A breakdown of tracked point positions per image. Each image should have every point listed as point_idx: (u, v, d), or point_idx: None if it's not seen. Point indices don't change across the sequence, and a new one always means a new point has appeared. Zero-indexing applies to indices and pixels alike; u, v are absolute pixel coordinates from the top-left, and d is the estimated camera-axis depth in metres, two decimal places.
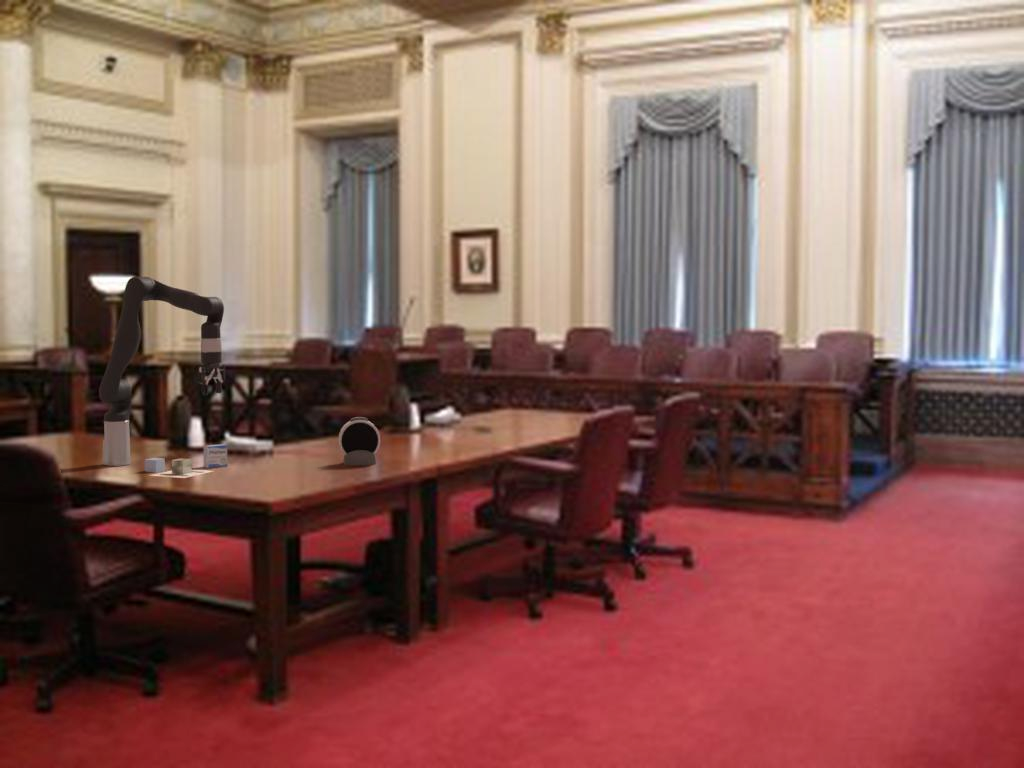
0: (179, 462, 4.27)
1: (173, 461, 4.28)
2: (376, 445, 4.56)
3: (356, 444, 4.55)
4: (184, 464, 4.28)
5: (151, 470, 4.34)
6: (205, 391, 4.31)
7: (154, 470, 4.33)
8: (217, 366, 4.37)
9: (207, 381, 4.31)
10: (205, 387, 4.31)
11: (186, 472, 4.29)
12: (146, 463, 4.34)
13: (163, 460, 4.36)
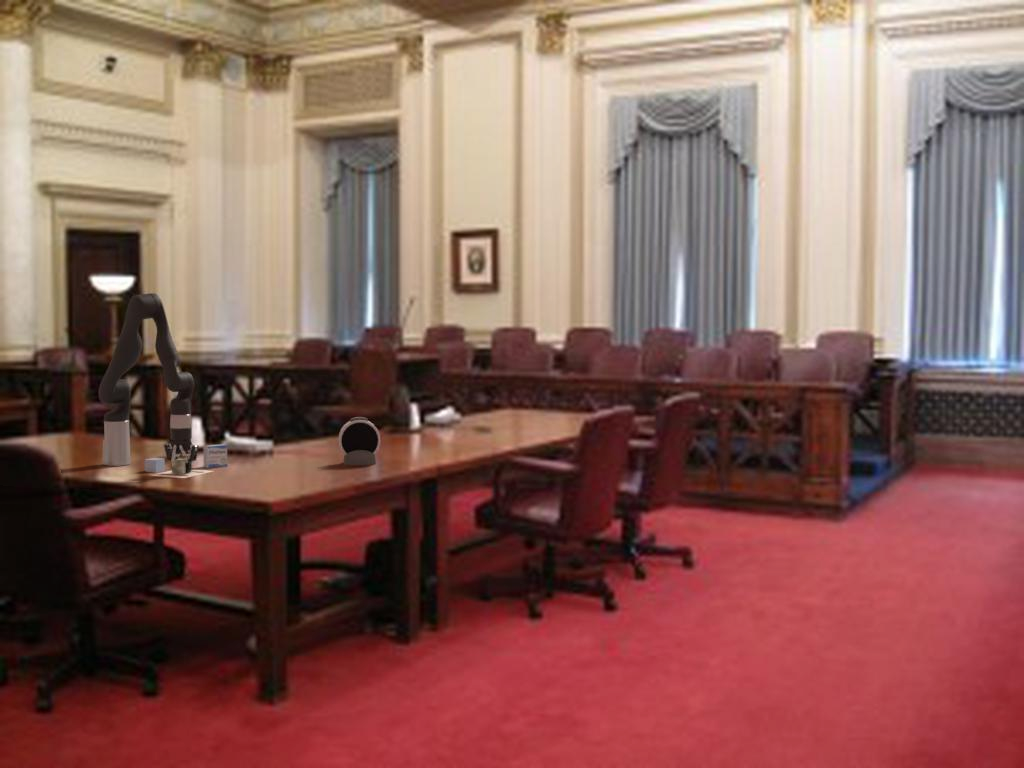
0: (179, 462, 4.27)
1: (173, 461, 4.28)
2: (376, 445, 4.56)
3: (356, 444, 4.55)
4: (184, 464, 4.28)
5: (151, 470, 4.34)
6: None
7: (154, 470, 4.33)
8: None
9: None
10: None
11: None
12: (146, 463, 4.34)
13: (163, 460, 4.36)
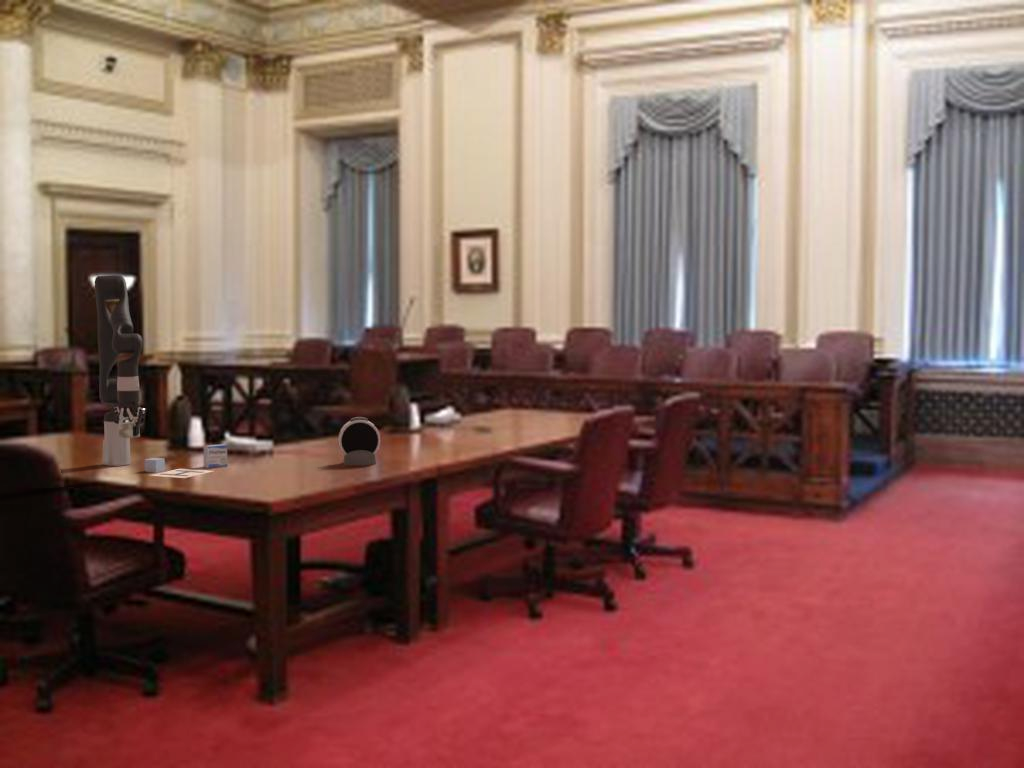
0: (127, 425, 4.18)
1: (120, 424, 4.19)
2: (376, 445, 4.56)
3: (356, 444, 4.55)
4: (131, 427, 4.18)
5: (151, 470, 4.34)
6: None
7: (154, 470, 4.33)
8: None
9: None
10: None
11: (133, 436, 4.19)
12: (146, 463, 4.34)
13: (163, 460, 4.36)
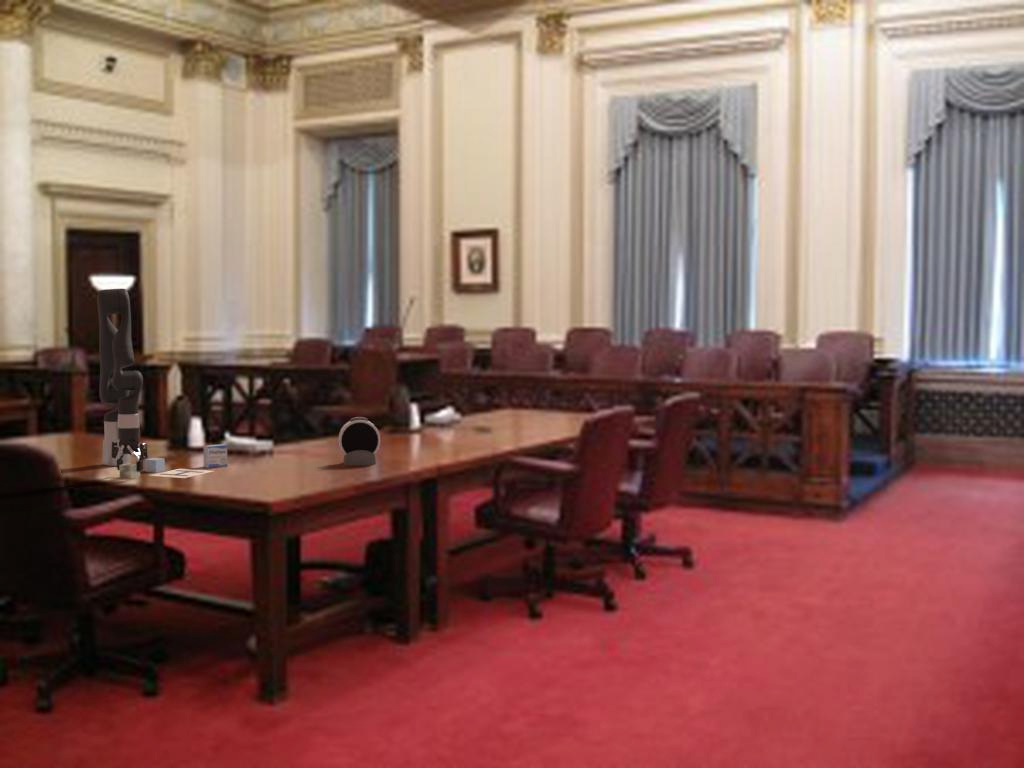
0: (127, 466, 4.19)
1: (121, 466, 4.20)
2: (376, 445, 4.56)
3: (356, 444, 4.55)
4: (132, 469, 4.19)
5: (151, 470, 4.34)
6: None
7: (154, 470, 4.33)
8: None
9: None
10: None
11: (134, 477, 4.20)
12: (146, 463, 4.34)
13: (163, 460, 4.36)
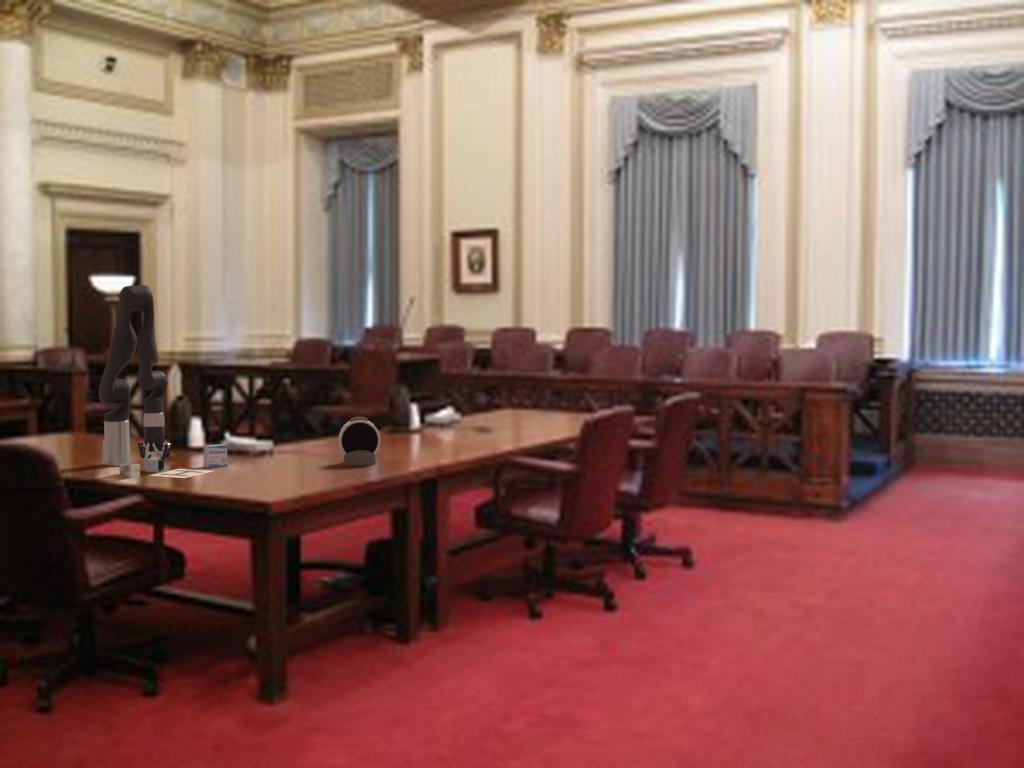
0: (127, 466, 4.19)
1: (121, 466, 4.20)
2: (376, 445, 4.56)
3: (356, 444, 4.55)
4: (132, 469, 4.19)
5: (151, 470, 4.34)
6: None
7: (154, 470, 4.33)
8: None
9: None
10: None
11: (134, 477, 4.20)
12: (146, 463, 4.34)
13: None
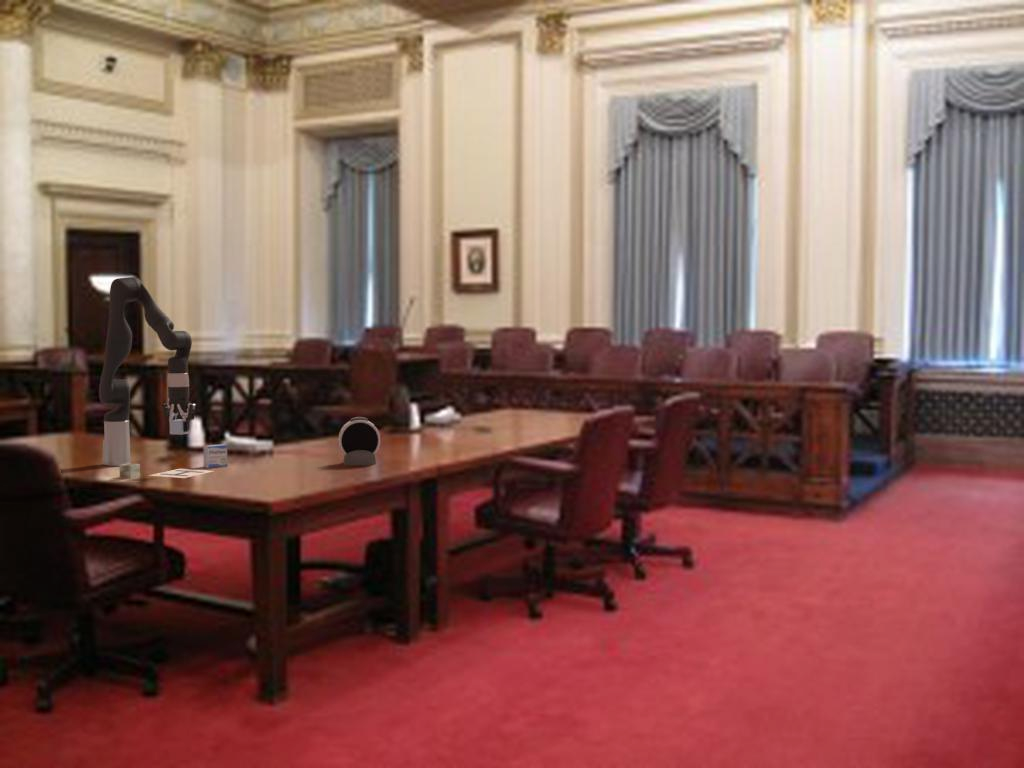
0: (127, 466, 4.19)
1: (121, 466, 4.20)
2: (376, 445, 4.56)
3: (356, 444, 4.55)
4: (132, 469, 4.19)
5: (176, 431, 4.26)
6: None
7: (179, 431, 4.26)
8: None
9: None
10: None
11: (134, 477, 4.20)
12: (171, 424, 4.27)
13: None
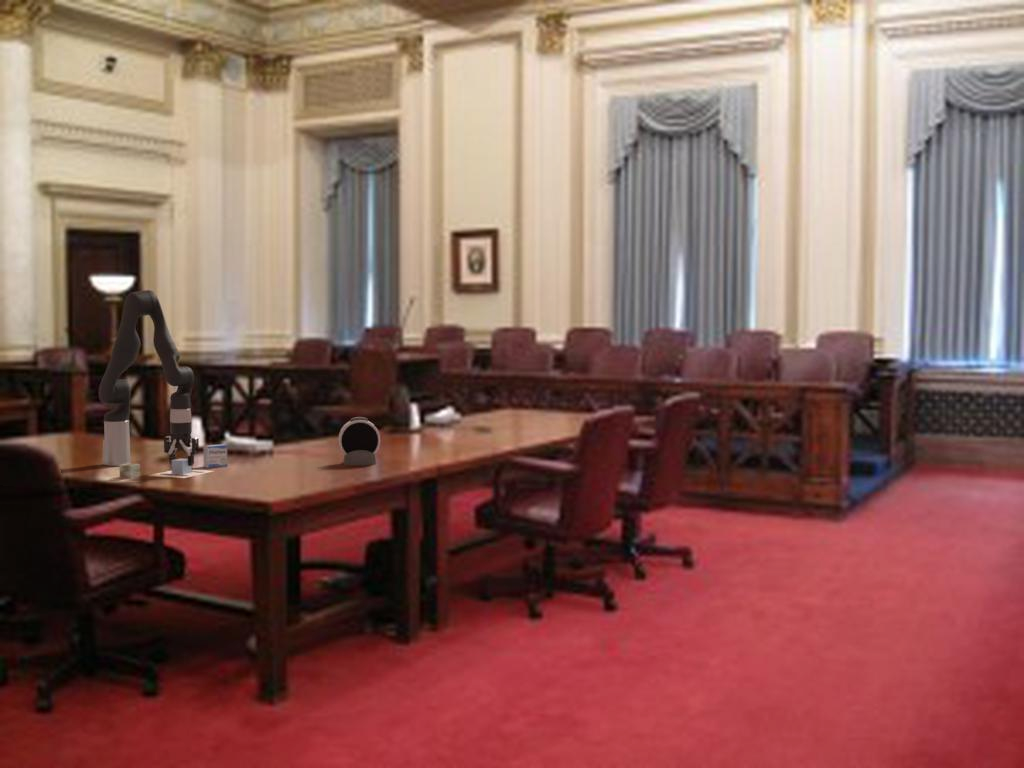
0: (127, 466, 4.19)
1: (121, 466, 4.20)
2: (376, 445, 4.56)
3: (356, 444, 4.55)
4: (132, 469, 4.19)
5: (178, 471, 4.28)
6: None
7: (181, 471, 4.27)
8: None
9: None
10: None
11: (134, 477, 4.20)
12: (173, 464, 4.28)
13: None
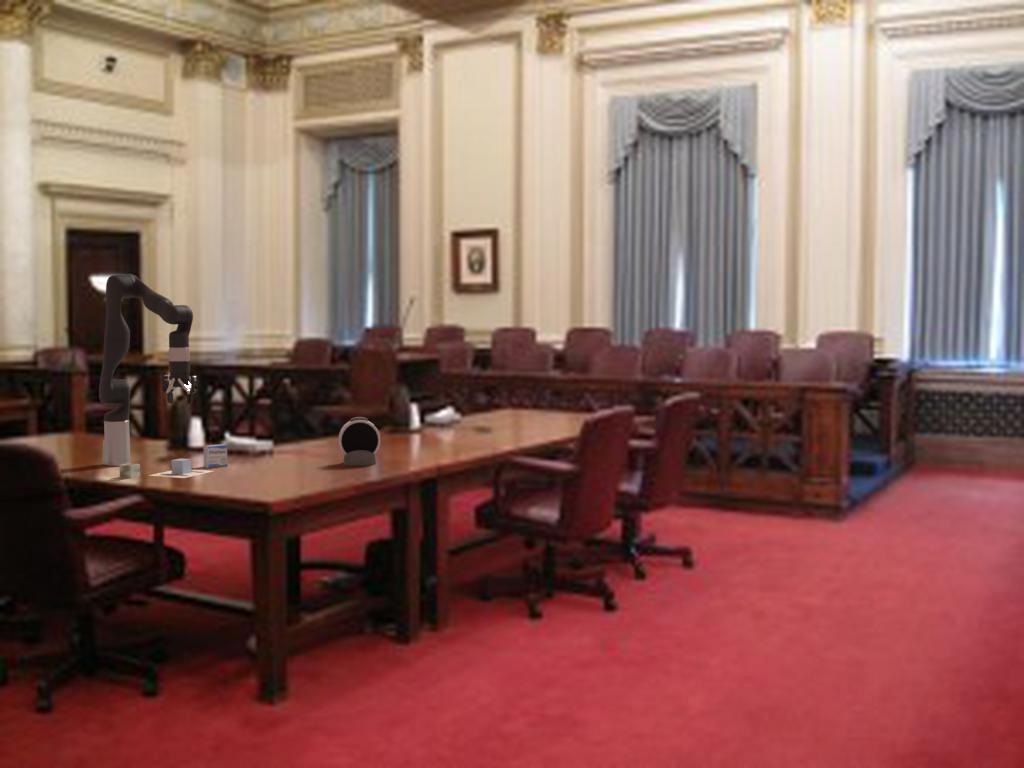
0: (127, 466, 4.19)
1: (121, 466, 4.20)
2: (376, 445, 4.56)
3: (356, 444, 4.55)
4: (132, 469, 4.19)
5: (178, 471, 4.28)
6: None
7: (181, 471, 4.27)
8: None
9: None
10: None
11: (134, 477, 4.20)
12: (173, 464, 4.28)
13: (189, 461, 4.31)
